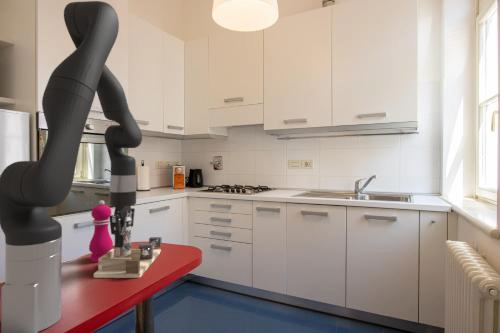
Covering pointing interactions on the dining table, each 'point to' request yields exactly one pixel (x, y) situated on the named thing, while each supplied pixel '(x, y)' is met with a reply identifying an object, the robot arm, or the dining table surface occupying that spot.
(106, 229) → the pink pepper grinder
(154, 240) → the silver and grey bar
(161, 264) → the dining table surface
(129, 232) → the beer can
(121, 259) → the birch holder
